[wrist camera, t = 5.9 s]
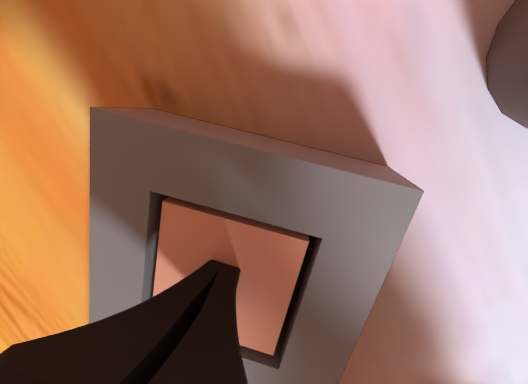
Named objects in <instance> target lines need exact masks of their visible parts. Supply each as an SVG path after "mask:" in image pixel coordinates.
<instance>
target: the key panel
mask: <svg viewBox="0 0 528 384" xmlns="http://www.w3.org/2000/svg"><path fill="white" fill-rule="evenodd" d="M423 192H424V191H423V190H422V189H420V188H419V187H417V186H416V185H414V184H413V183H411V182H410V181H409V180H407V179H406V178H404V177H403V176H401V175H400V174H398V173H397V172H395V171H394V170H392V169H391V168H390V167H387V166H383V165H379V164H375V163H371V162H367V161H363V160H359V159H355V158H351V157H347V156H343V155H339V154H335V153H331V152H326V151H322V150H318V149H314V148H310V147H306V146H302V145H298V144H294V143H290V142H286V141H282V140H278V139H274V138H270V137H266V136H262V135H258V134H253V133H249V132H245V131H241V130H237V129H233V128H229V127H225V126H221V125H217V124H213V123H209V122H205V121H201V120H197V119H193V118H189V117H184V116H180V115H176V114H172V113H168V112H164V111H160V110H156V109H151V108H105V107H90V318H89V324H90V323H93V322H96V321H99V320H102V319H104V318H107V317H109V316H112V315H114V314H117V313H119V312H122V311H124V310H127V309H129V308H131V307H133V306H136V305H138V304H140V303H142V302H144V301H146V300H148V299H150V298H152V297H153V290H154V280H155V270H156V260H157V251H158V241H159V231H160V221H161V211H162V201H164V200H165V199H167V198H168V197H174V198H177V199H181V200H184V201H188V202H192V203H195V204H199V205H203V206H206V207H210V208H213V209H217V210H221V211H224V212H228V213H232V214H235V215H239V216H242V217H246V218H250V219H253V220H257V221H260V222H264V223H268V224H271V225H275V226H279V227H282V228H286V229H289V230H293V231H297V232H300V233H304V234H308V235H309V243H308V246H307V249H306V253H305V256H304V259H303V262H302V265H301V268H300V272H299V275H298V278H297V281H296V284H295V288H294V291H293V294H292V297H291V300H290V303H289V307H288V310H287V313H286V316H285V319H284V322H283V326H282V329H281V332H280V335H279V338H278V341H277V345H276V348H275V351H274V354H273V355H270V354H266V353H263V352H260V351H257V350H254V349H251V348H248V347H245V346H241V345H240V349H241V355H242V360H243V364H244V368H245V372H246V377H247V381H248V384H338V383H339V380H340V378H341V376H342V374H343V371H344V369H345V367H346V365H347V362H348V360H349V358H350V356H351V353H352V351H353V349H354V347H355V345H356V342H357V340H358V338H359V336H360V333H361V331H362V329H363V327H364V324H365V322H366V320H367V318H368V315H369V313H370V311H371V309H372V306H373V304H374V302H375V300H376V298H377V295H378V293H379V291H380V289H381V286H382V284H383V282H384V280H385V277H386V275H387V273H388V271H389V268H390V266H391V264H392V262H393V260H394V257H395V255H396V253H397V251H398V248H399V246H400V244H401V242H402V239H403V237H404V235H405V233H406V230H407V228H408V226H409V224H410V221H411V219H412V217H413V215H414V213H415V210H416V208H417V206H418V204H419V201H420V199H421V197H422V195H423Z"/></svg>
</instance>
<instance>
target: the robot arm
mask: <svg viewBox="0 0 528 384" xmlns="http://www.w3.org/2000/svg"><path fill="white" fill-rule="evenodd" d="M240 272H241V270H240V268H239V267H236V266H232V265H229V264H225V263H222V262H219V261H215V260H212V259H211V260H209V261H208V262H206V263H205V264H204V265H202V266H201V267H200V268H198V269H197V270H195V271H194V272H192V273H191V274H190V275H188V276H187V277H185V278H184V279H182V280H180V281H179V282H177V283H176V284H174V285H173V286H171V287H169V288H167V289H166V290H164V291H162V292H161V293H159V294H157V295H155V296H153V297H152V298H150V299H148V300H146V301H144V302H142V303H140V304H138V305H136V306H133V307H131V308H129V309H127V310H124V311H122V312H119V313H117V314H114V315H112V316H109V317H107V318H104V319H102V320H99V321H96V322H93V323H90V324H87V325H84V326H81V327H78V328H75V329H71V330H68V331H65V332H61V333H58V334H54V335H50V336H46V337H42V338H38V339H34V340H30V341H26V342H23V343H18V344H14V345H12V346H10V347H9V348H7V349H6V350H5V351H3V352H2V353H1V354H0V384H248V381H247V377H246V372H245V368H244V364H243V360H242V355H241V349H240V344H239V337H238V329H237V317H236V289H237V285H238V281H239V276H240Z"/></svg>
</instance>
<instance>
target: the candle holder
mask: <svg viewBox="0 0 528 384" xmlns="http://www.w3.org/2000/svg"><path fill="white" fill-rule="evenodd" d="M486 60H487V80H488V90H489V92H490V93H491V95H492V97H493V98H494V100H495V102H496V104H497V105H498V107H499V109H500V110H501V112H502V113H503V114H504V115H506V116H508V117H509V118H511V119H512V120H514V121H516V122H517V123H519V124H521V125H522V126H524V127H526V128H528V0H516V1H515V3H514V4H513V5H512V7H511V8H510V9H509V10H508V12H507V13H506V14H505V16H504V17H503V18H502V20H501V21H500V22H499V23H498V26H497V29H496V32H495V35H494V38H493V40H492V43H491V46H490V49H489V52H488V55H487V58H486Z"/></svg>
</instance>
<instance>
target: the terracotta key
mask: <svg viewBox="0 0 528 384" xmlns="http://www.w3.org/2000/svg"><path fill="white" fill-rule="evenodd" d="M308 243H309V235H308V234H304V233H300V232H297V231H293V230H289V229H286V228H282V227H279V226H275V225H271V224H268V223H264V222H260V221H257V220H253V219H250V218H246V217H242V216H239V215H235V214H232V213H228V212H224V211H221V210H217V209H213V208H210V207H206V206H203V205H199V204H195V203H192V202H188V201H184V200H181V199H177V198H174V197H168V198H167V199H165V200H164V201H162V211H161V221H160V231H159V241H158V251H157V260H156V270H155V280H154V290H153V296H155V295H157V294H159V293H161V292H162V291H164V290H166V289H167V288H169V287H171V286H173V285H174V284H176V283H177V282H179V281H180V280H182V279H184V278H185V277H187V276H188V275H190V274H191V273H192V272H194V271H195V270H197V269H198V268H200V267H201V266H202V265H204V264H205V263H206V262H208V261H209V260H211V259H212V260H215V261H219V262H222V263H225V264H229V265H232V266H236V267H239V268H240V270H241V272H240V276H239V281H238V285H237V289H236V317H237V329H238V337H239V344H240V345H241V346H245V347H248V348H251V349H254V350H257V351H260V352H263V353H266V354H270V355H273V354H274V351H275V348H276V345H277V341H278V338H279V335H280V332H281V329H282V326H283V322H284V319H285V316H286V313H287V310H288V307H289V303H290V300H291V297H292V294H293V291H294V288H295V284H296V281H297V278H298V275H299V272H300V268H301V265H302V262H303V259H304V256H305V253H306V249H307V246H308Z"/></svg>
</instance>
